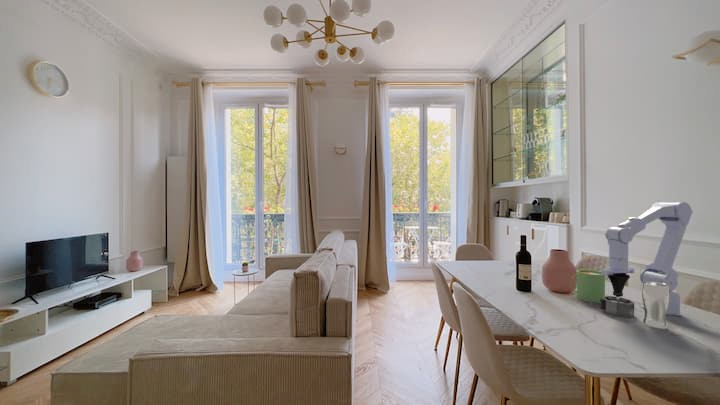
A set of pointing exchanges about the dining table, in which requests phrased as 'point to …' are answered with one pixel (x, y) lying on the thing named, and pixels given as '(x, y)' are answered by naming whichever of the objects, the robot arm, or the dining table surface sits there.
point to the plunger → (617, 297)
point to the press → (617, 307)
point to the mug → (589, 285)
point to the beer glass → (655, 304)
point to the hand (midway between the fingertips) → (617, 292)
